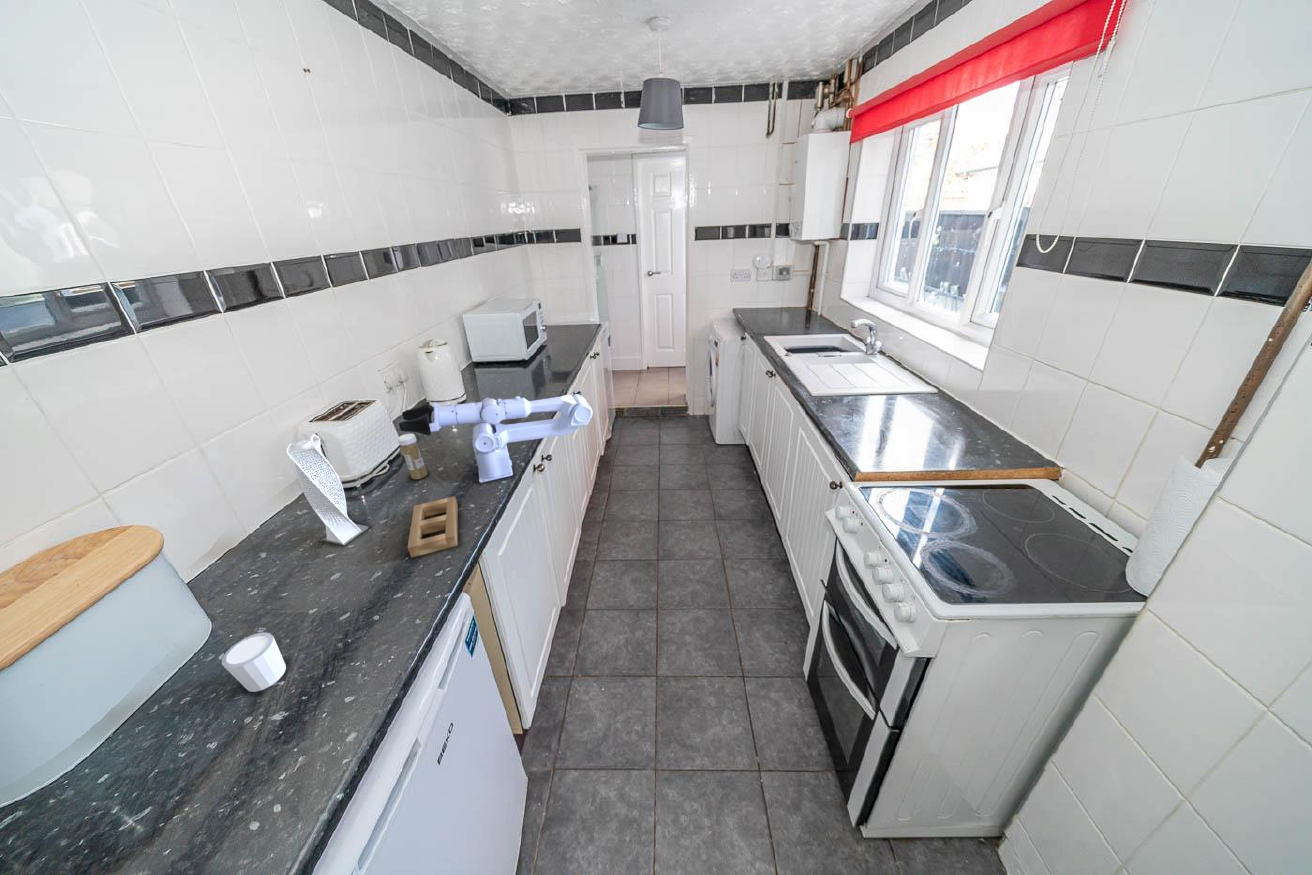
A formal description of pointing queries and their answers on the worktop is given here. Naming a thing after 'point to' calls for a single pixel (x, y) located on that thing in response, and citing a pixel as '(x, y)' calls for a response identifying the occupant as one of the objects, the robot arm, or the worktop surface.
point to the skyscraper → (323, 490)
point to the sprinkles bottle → (412, 456)
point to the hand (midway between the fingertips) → (401, 421)
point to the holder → (433, 527)
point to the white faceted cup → (255, 661)
